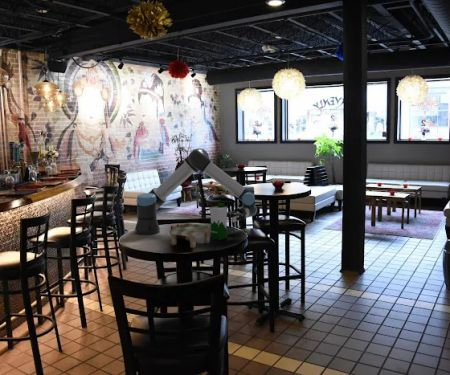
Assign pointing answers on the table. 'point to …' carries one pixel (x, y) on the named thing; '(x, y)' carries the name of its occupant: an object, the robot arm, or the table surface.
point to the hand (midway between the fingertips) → (222, 218)
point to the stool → (190, 233)
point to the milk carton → (218, 221)
